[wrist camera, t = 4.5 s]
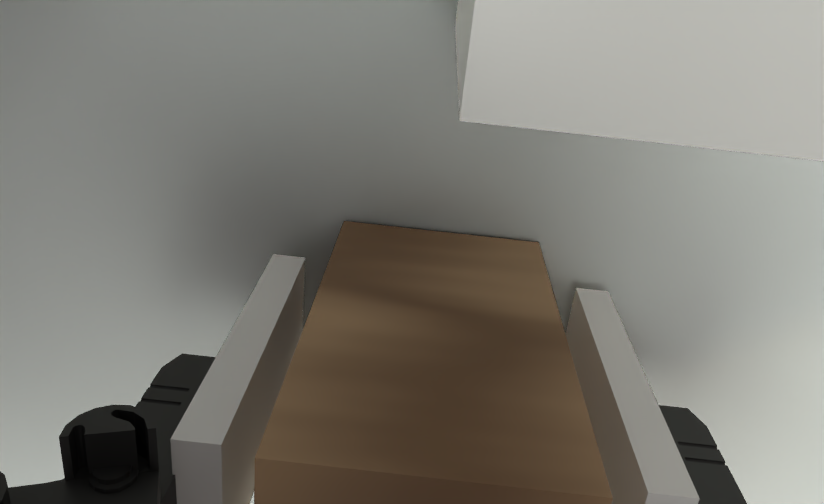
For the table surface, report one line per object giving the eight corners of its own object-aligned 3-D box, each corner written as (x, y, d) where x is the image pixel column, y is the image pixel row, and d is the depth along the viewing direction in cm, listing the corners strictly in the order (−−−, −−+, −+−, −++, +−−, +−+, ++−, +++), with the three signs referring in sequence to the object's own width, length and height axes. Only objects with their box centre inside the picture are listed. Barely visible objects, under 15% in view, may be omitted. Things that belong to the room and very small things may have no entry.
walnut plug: (333, 383, 18) (253, 690, 11) (343, 220, 16) (254, 458, 9) (508, 402, 18) (548, 723, 11) (538, 242, 16) (612, 498, 9)
